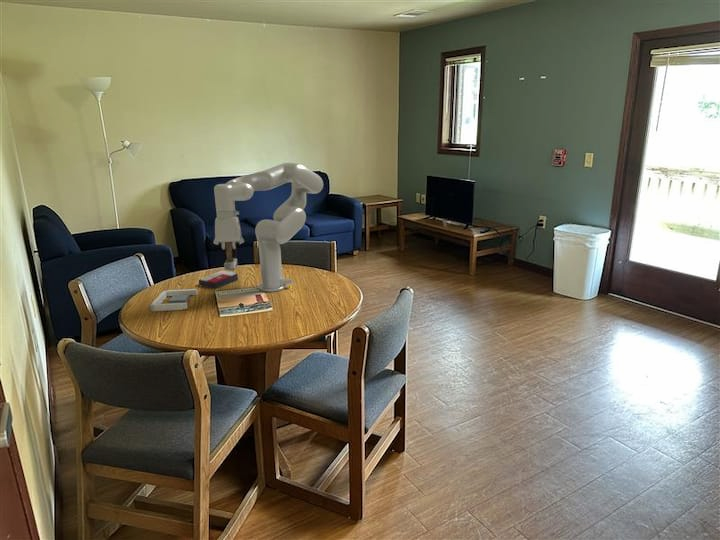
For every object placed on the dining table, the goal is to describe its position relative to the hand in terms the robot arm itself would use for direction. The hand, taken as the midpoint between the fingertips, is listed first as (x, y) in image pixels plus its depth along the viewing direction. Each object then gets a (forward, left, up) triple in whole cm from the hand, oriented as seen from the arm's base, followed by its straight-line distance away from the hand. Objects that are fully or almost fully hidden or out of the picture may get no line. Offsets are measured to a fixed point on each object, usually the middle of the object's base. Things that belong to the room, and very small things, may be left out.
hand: (230, 257), depth 209 cm
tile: (+23, 0, -19) cm, 30 cm away
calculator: (+11, -25, -20) cm, 34 cm away
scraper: (0, 0, -5) cm, 5 cm away
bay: (+25, 0, -19) cm, 32 cm away
